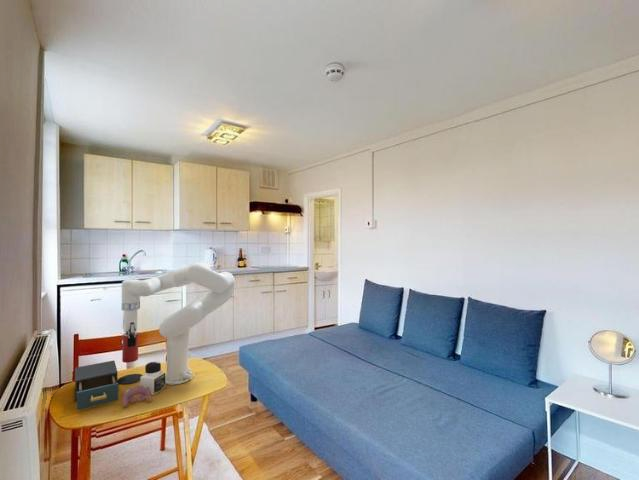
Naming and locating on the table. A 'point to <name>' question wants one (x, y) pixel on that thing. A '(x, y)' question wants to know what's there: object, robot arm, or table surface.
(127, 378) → the coaster
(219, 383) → the table surface
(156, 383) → the medicine bottle
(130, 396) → the video game controller
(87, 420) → the table surface
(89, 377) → the cabinet
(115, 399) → the drawer
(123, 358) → the can
